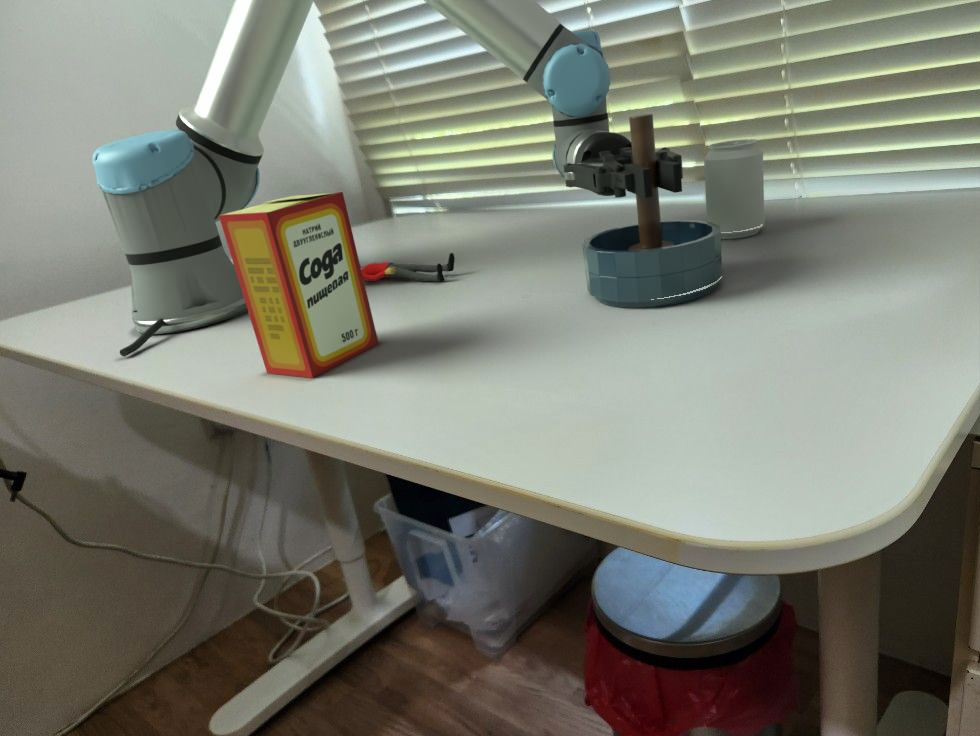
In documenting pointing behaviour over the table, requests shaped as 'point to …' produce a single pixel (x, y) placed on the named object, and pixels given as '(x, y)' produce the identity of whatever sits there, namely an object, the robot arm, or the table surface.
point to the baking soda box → (301, 282)
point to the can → (735, 187)
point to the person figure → (407, 271)
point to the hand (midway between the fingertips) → (662, 180)
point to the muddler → (650, 206)
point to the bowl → (653, 264)
